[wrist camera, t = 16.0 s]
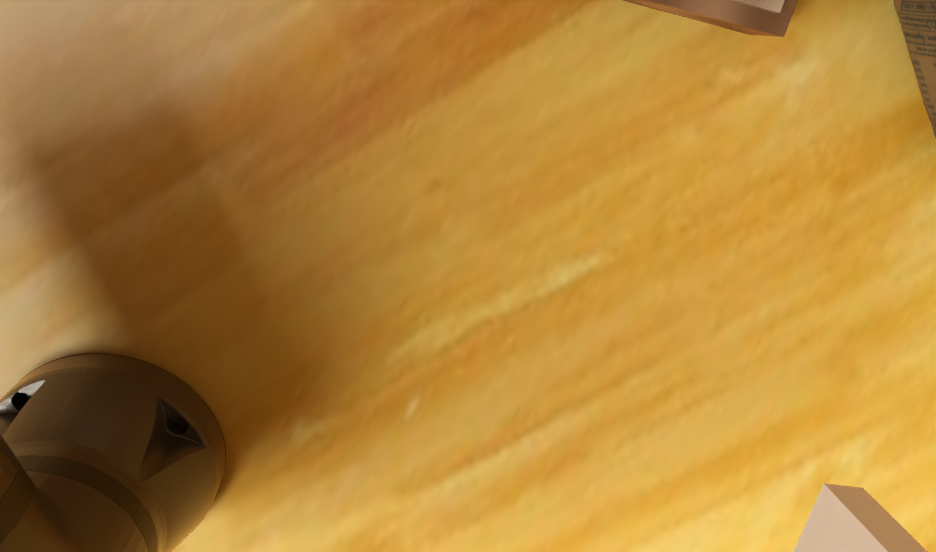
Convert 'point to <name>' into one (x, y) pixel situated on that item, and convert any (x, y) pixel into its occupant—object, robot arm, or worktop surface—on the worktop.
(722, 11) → the shelf riser
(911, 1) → the beverage carton
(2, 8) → the worktop surface
